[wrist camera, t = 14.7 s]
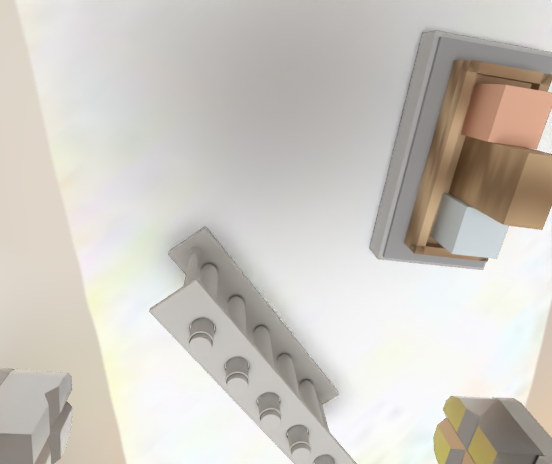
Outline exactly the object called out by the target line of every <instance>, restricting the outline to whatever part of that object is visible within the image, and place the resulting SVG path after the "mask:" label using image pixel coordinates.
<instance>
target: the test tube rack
mask: <svg viewBox="0 0 552 464" xmlns="http://www.w3.org/2000/svg"><path fill="white" fill-rule="evenodd" d="M168 255H169V256H170V257H171V258H172V259H173V261H174V262H175V263H176V264H177V265H178V266H179V268H180V269H181V270H182V271H183V272H184V273H185V274H186V278H185V282H184V286H183V287H182V288H180V289H179V290H177V291H176V292H174V293H173V294H171V295H170V296H168V297H167V298H165V299H164V300H162V301H161V302H159V303H158V304H156V305H155V306H153V307H152V308H150V310H149V312H150V313H151V314H152V315H153V316H154V317H155V318H156V319H157V320H158V321H159V322H160V323H161V324H162V325H163V326H164V328H165V329H166V330H167V331H168V332H169V333H170V334H171V335H172V336H173V337H174V338H175V339H176V340H177V341H178V342H179V343H180V344H181V345H182V346H183V348H184V349H185V350H186V351H187V352H188V353H189V354H190V355H191V356H192V357H193V358H194V359H195V360H196V361H197V362H198V363H199V364H200V365H201V366H202V367H203V369H204V370H205V371H206V372H207V373H208V374H209V375H210V376H211V377H212V378H213V379H214V380H215V381H216V382H217V383H218V384H219V385H220V386H221V387H222V388H223V390H224V391H225V392H226V393H227V394H228V395H229V396H230V397H231V398H232V399H233V400H234V401H235V402H236V403H237V404H238V405H239V406H240V407H241V408H242V410H243V411H244V412H245V413H246V414H247V415H248V416H249V417H250V418H251V419H252V420H253V421H254V422H255V423H256V424H257V425H258V426H259V427H260V428H261V429H262V431H263V432H264V433H265V434H266V435H267V436H268V437H269V438H270V439H271V440H272V441H273V442H274V443H275V444H276V445H277V446H278V447H279V448H280V449H281V450H282V452H283V453H284V454H285V455H286V456H287V457H288V458H289V459H290V460H291V461H292V462H293V463H294V464H314V463H315V464H356V462H355V461H354V460H353V459H352V458H351V457H350V455H349V454H348V453H347V452H346V451H345V450H344V449H343V447H342V446H341V445H340V444H339V443H338V442H337V440H336V439H335V438H334V437H333V436H332V435H331V433H330V432H329V429H328V425H327V422H326V418H325V414H324V410H323V407H322V404H324V403H326V402H327V401H329V400H331V399H332V398H334V397H336V396H337V395H339V394H338V391H337V389H336V388H335V387H334V385H333V384H332V383H331V382H330V381H329V379H328V378H327V377H326V376H325V374H324V373H323V372H322V371H321V369H320V368H319V367H318V366H317V364H316V363H315V362H314V361H313V359H312V358H311V357H310V356H309V354H308V353H307V352H306V351H305V349H304V348H303V347H302V346H301V345H300V343H299V342H298V341H297V340H296V338H295V337H294V336H293V335H292V333H291V332H290V331H289V330H288V328H287V327H286V326H285V325H284V323H283V322H282V321H281V320H280V318H279V317H278V316H277V315H276V313H275V312H274V311H273V310H272V308H271V307H270V306H269V305H268V303H267V302H266V301H265V300H264V298H263V297H262V296H261V295H260V294H259V292H258V291H257V290H256V289H255V287H254V286H253V285H252V284H251V282H250V281H249V280H248V279H247V277H246V276H245V275H244V274H243V272H242V271H241V270H240V269H239V267H238V266H237V265H236V264H235V262H234V261H233V260H232V259H231V257H230V256H229V255H228V254H227V252H226V251H225V250H224V249H223V247H222V246H221V245H220V244H219V242H218V241H217V240H216V239H215V237H214V236H213V235H212V234H211V232H210V231H209V230H208V229H207V228H206V227H204V228H202V229H201V230H199V231H198V232H196V233H195V234H193V235H192V236H190V237H189V238H188V239H186V240H185V241H183V242H182V243H180V244H179V245H177V246H176V247H174V248H173V249H171V250H170V251H169V253H168ZM191 323H192V324H191ZM190 325H191V330H190ZM214 325H215V331H214ZM248 363H249V368H248ZM225 364H226V368H225ZM278 396H279V397H278ZM279 398H280V402H279ZM257 399H258V403H257ZM307 429H308V433H307ZM287 433H288V436H287Z"/></svg>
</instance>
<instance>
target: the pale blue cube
mask: <svg viewBox="0 0 552 464" xmlns="http://www.w3.org/2000/svg"><path fill="white" fill-rule="evenodd" d="M508 227H509V226H508V225H503V224H501V223H499V222H497V221H496V220H494V219H492V218H490V217H489V216H487V215H485V214H483V213H482V212H480V211H478V210H476V209H475V208H473V207H471V206H469V205H468V204H466V203H464V202H462V201H461V200H459V199H457V198H455V197H454V196H452V195H450V194H446V193H443V195H442V198H441V202H440V205H439V209H438V212H437V215H436V219H435V222H434V225H433V229H432V232H431V237H432V238H433V239H435V240H436V241H437V242H438V243H439V244H441V245H442V246H443V247H444V248H445V249H446V250H448V251H449V252H450V253H451V254H456V255H466V256H475V257H484V258H494V259H497V258H498V255H499V252H500V249H501V246H502V244H503V241H504V238H505V235H506V233H507V230H508Z"/></svg>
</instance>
